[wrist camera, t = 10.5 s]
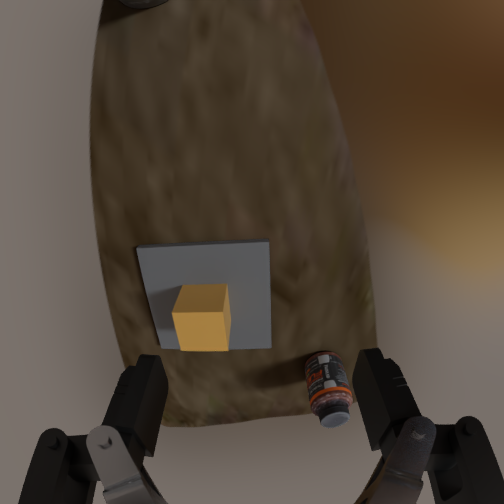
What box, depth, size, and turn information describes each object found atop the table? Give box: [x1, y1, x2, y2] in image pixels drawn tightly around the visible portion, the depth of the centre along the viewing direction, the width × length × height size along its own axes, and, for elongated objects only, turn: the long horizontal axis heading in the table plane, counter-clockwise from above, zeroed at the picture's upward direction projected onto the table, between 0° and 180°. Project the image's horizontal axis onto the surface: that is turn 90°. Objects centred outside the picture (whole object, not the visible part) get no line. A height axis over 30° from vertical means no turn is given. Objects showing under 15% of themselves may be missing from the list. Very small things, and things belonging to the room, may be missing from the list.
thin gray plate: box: [136, 239, 271, 349], centre depth 36 cm, size 16×16×5 cm
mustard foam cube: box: [172, 284, 231, 351], centre depth 35 cm, size 6×6×6 cm
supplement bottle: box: [305, 352, 352, 428], centre depth 38 cm, size 6×6×11 cm
